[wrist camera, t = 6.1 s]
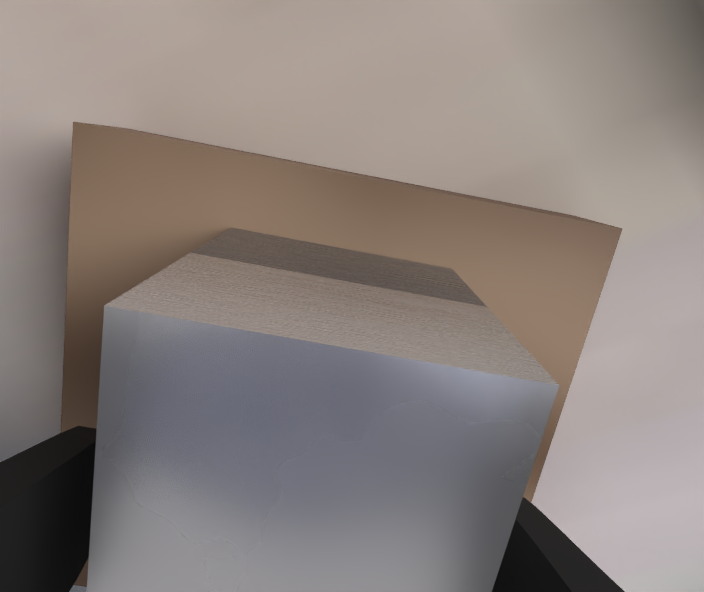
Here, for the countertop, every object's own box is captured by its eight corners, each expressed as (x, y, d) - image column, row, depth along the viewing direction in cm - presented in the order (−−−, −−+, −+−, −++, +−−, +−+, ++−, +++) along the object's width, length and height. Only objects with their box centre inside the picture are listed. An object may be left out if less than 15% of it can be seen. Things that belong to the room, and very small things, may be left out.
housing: (380, 556, 13) (405, 856, 8) (193, 527, 13) (72, 817, 7) (452, 268, 11) (559, 385, 6) (231, 227, 11) (104, 305, 5)
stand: (464, 573, 17) (484, 643, 14) (98, 518, 16) (54, 582, 14) (573, 215, 14) (622, 228, 11) (124, 128, 13) (73, 121, 10)
